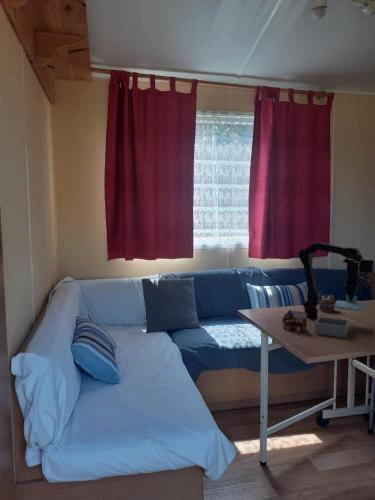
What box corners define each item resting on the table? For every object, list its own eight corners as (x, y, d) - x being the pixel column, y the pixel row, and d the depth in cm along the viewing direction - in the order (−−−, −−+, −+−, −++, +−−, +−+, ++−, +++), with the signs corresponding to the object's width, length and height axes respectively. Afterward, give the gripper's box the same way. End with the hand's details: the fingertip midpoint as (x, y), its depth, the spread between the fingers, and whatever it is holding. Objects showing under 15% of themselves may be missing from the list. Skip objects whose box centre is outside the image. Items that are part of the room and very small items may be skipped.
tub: (314, 334, 172) (315, 322, 172) (318, 328, 183) (318, 316, 182) (346, 339, 166) (346, 326, 165) (348, 332, 176) (348, 320, 176)
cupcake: (336, 309, 219) (336, 293, 218) (333, 313, 211) (334, 296, 210) (320, 307, 224) (320, 292, 223) (316, 311, 216) (317, 295, 215)
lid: (333, 308, 181) (334, 299, 180) (336, 302, 192) (336, 294, 191) (365, 312, 174) (365, 302, 173) (366, 305, 185) (366, 296, 184)
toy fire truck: (284, 326, 185) (285, 307, 184) (309, 331, 178) (309, 310, 177) (280, 330, 179) (280, 310, 178) (305, 334, 173) (305, 314, 172)
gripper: (368, 275, 174) (367, 306, 175) (370, 270, 190) (368, 298, 192) (344, 273, 179) (343, 304, 181) (347, 268, 195) (346, 296, 197)
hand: (351, 300), depth 187 cm, fingers closed on lid
